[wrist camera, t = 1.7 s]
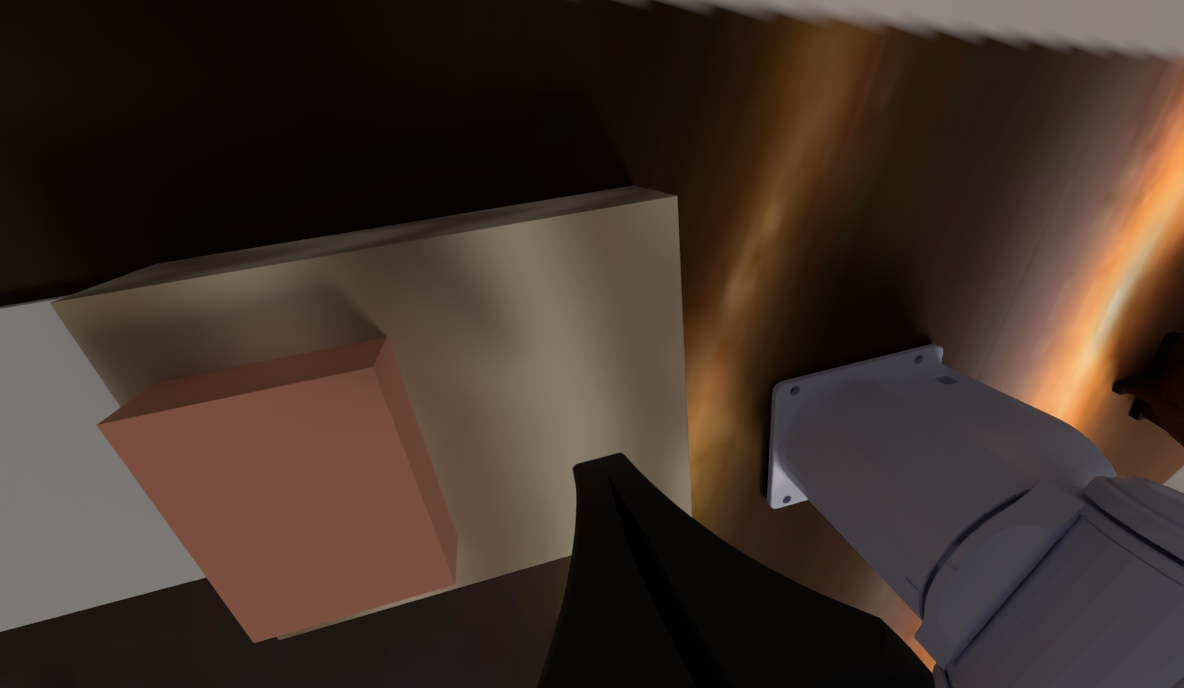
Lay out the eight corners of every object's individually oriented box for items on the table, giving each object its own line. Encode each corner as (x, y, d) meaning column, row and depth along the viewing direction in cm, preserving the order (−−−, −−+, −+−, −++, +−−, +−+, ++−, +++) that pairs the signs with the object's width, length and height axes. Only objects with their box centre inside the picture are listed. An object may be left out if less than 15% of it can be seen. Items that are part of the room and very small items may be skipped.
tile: (386, 336, 13) (372, 367, 11) (457, 536, 16) (455, 584, 15) (153, 383, 12) (96, 424, 10) (279, 585, 15) (253, 642, 14)
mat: (146, 281, 14) (138, 285, 14) (297, 546, 20) (294, 554, 19) (-405, 375, 12) (-431, 381, 12) (-75, 644, 17) (-87, 654, 17)
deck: (634, 185, 17) (677, 196, 13) (657, 460, 22) (691, 519, 19) (155, 263, 14) (49, 302, 11) (314, 551, 20) (279, 639, 16)
